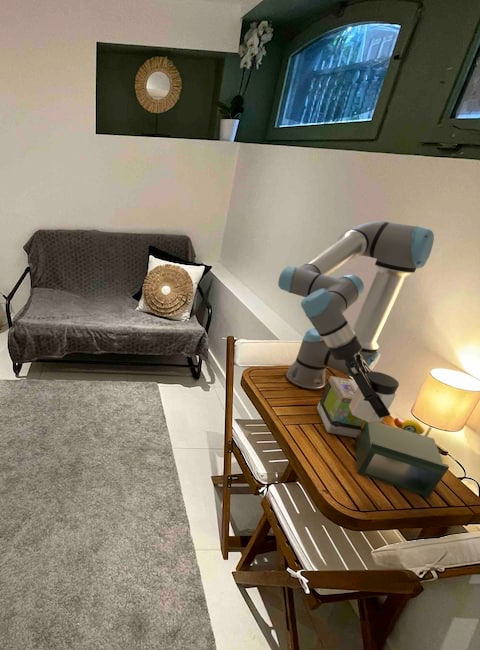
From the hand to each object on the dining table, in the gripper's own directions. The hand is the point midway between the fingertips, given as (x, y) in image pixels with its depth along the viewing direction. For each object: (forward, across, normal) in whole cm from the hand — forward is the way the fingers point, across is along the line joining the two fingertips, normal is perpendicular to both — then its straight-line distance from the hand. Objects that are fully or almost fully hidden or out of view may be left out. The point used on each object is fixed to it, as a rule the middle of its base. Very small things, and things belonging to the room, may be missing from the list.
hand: (383, 407), depth 106 cm
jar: (+1, 0, -5) cm, 5 cm away
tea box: (+12, -21, -19) cm, 31 cm away
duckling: (+27, -19, -4) cm, 33 cm away
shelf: (+22, -4, -8) cm, 24 cm away
